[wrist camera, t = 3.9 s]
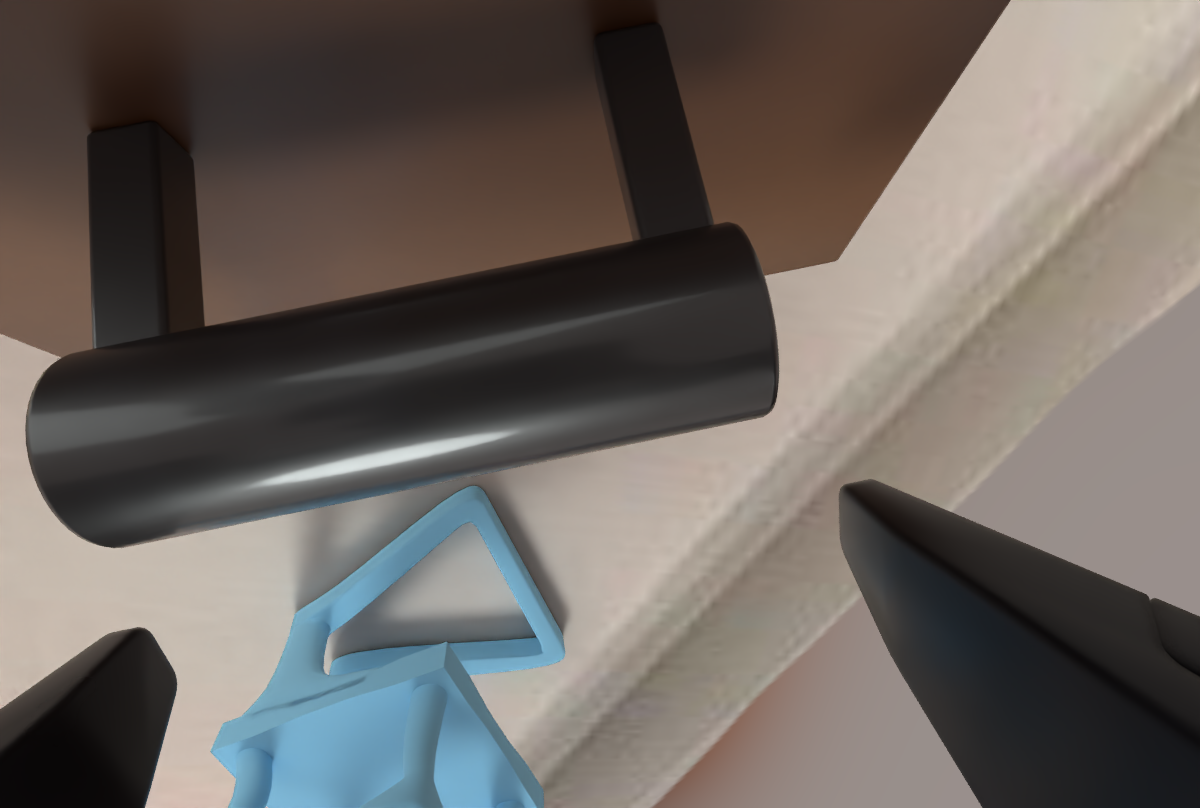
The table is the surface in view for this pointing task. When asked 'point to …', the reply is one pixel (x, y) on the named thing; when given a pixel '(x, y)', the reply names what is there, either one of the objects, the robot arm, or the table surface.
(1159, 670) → the robot arm
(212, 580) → the table surface
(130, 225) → the lid
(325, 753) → the chair
